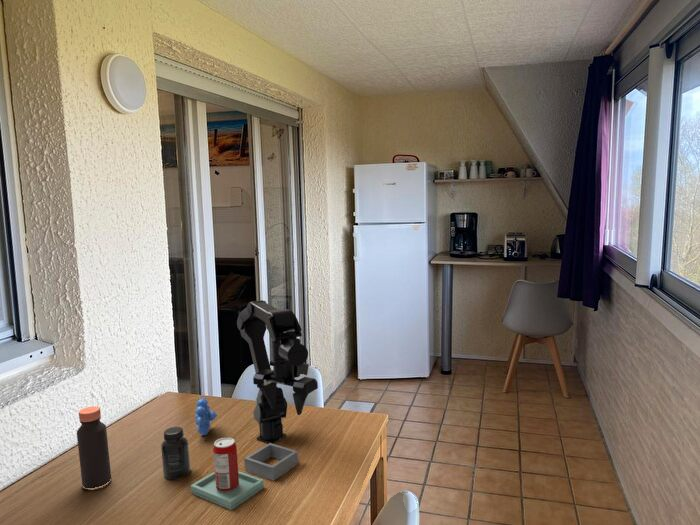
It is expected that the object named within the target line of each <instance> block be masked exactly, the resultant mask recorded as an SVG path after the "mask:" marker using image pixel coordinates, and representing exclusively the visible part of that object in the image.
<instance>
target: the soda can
mask: <svg viewBox="0 0 700 525" xmlns="http://www.w3.org/2000/svg"><path fill="white" fill-rule="evenodd" d="M212 451H213V464H214V466H213V467H214V472H215V480H216V488H217V490H219V491H220V492H231V491H233V490H235V489H236V488H237V487H238V485H239V476H238V471H239V464H238V463H239V462H238V451H237V443H236V442H235V439H234V438H232V437H221V438H218V439H216V440H215V441H214V443H213V449H212Z"/></svg>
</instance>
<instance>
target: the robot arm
mask: <svg viewBox="0 0 700 525" xmlns="http://www.w3.org/2000/svg"><path fill="white" fill-rule="evenodd" d="M236 326H237V329H238V330H239V332H240V336H241V338H243V339H244V341H246V342H247V343H248V346H249V350H250V354H251V358H252V364H253V367H254V372H255V373H254V375H253V377H252V379H253V381H252V382H253V385H255V386H256V388H257V389H258V393H257V396H256V399H255V400H256V404H255V407H254V410H253V411H252V412H253V413H252V414H253V418H254V420H255V421H256V422H257V423H258V425H259V435H258V436H257V437H256V440H257V441H260V442H263V443H267V444H269V443H272V444H275V443H276V442H278V441H280V440H281V439H284V438H285V437H286V436H287V434H286V433H284V424H283V423H282V419H283V418H286V417H287V412H288V402H287V399H286V398H285V396H284V390H283V389H282V387H278V384H279V385H284V386H288V387H292V391H293V393H292V398H293V401H294V407H295V411H296V413H297V415H298V416H300V415H302V412H303V409H304V406H305V402H306V400H307V397H308V395H309V394H310V393H312V392H314V391H316V390H317V389H318V386H319V385H318V384H319V383H318V379H315V378H312V377H308V374H309V367H310V364H309V363H305V362H306V361H307V360H308V357H309V350H308V349H307V347H306V346H305V345H304V344H302V343H301V339H300V337H303V335H302V330H303V329H302V327H301V325H300V323H299V320H298V317H297V316H296V314H295V313H294V312H293V311H292V309H285V308H284V309H283V308H282V309H278V308H276V307H274V306H272V305H270V304H269V303H267V302H266V300H255V301H250V302H248V304H247V305H246V307H244V309H242V311H240V312H239V314H238V316H237V320H236ZM266 331H267V332H268V333H269V336H270V339H271V349H272V350H271V352H272V360H271V361H270V360H269V359H270V358H269V355H268V352H267V348H266V344H265V338H264V337H265V334H266ZM271 366H272V367H273V369H272V367H271ZM301 375H304V376H303V377H301ZM299 377H301V378H300V379H296V378H299Z"/></svg>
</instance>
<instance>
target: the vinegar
mask: <svg viewBox="0 0 700 525" xmlns="http://www.w3.org/2000/svg"><path fill="white" fill-rule="evenodd" d="M78 417H79V418H78V419H79V423H80V426H79V427H78V429H77V431H76V440H77V448H78V457H79V467H80V476H81V484H82V485H83V486H84V487H85V488H95V487H99V486H102V485H104V484H106V483H107V482H109V481H110V479H111V480H112V471H111V462H110V452H109V441H108V432H107V431H108V430H107V426H106V424H105V423H103V422H102V421H101V419H102V418H101V417H102V413H101V408H100V406H96V405H95V406H87V407H84V408H82V409H80V410H79V411H78ZM82 485H81V486H82ZM83 486H82V487H83Z"/></svg>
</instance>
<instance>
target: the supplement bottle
mask: <svg viewBox="0 0 700 525" xmlns="http://www.w3.org/2000/svg"><path fill="white" fill-rule="evenodd" d="M160 452H161V460H162V472H163V477H164V478H165V477H166V479H167V478H168V479H167V480H178V479H182V478H184V477H186V476H187V474H188V475H189V473H191V461H190V460H191V459H190V450H189V441H188V438H186V437H185V434H184V428H183V427H181V426H173V427H169V428H167V429H165V430H164V431H163V441H162V442H161V446H160Z"/></svg>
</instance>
